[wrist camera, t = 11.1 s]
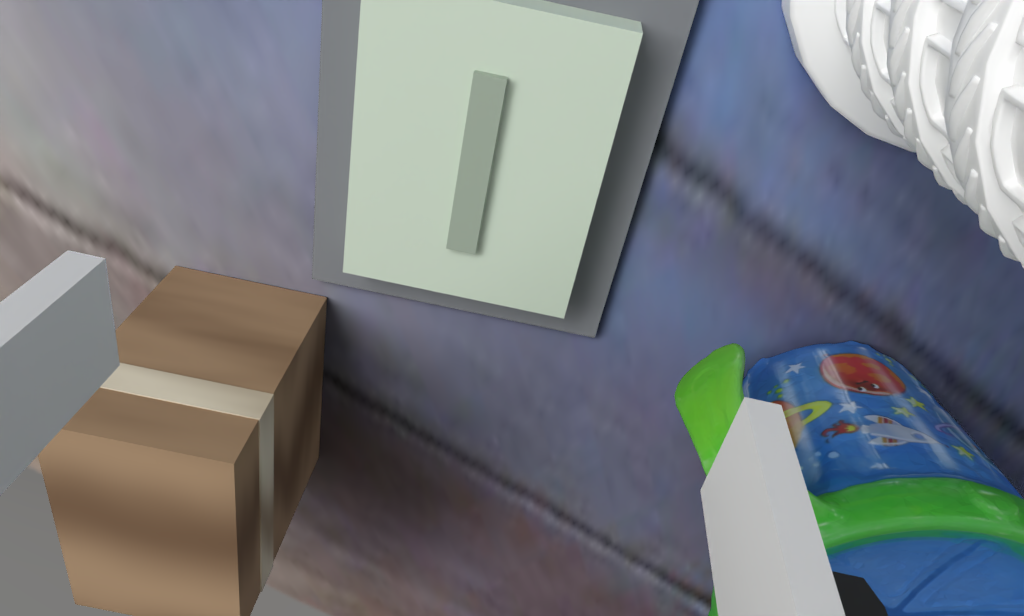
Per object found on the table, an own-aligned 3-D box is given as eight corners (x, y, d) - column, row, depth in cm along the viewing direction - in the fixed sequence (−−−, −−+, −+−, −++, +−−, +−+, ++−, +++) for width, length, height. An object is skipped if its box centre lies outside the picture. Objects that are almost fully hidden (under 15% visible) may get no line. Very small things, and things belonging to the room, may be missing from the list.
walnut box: (319, 457, 34) (242, 637, 27) (188, 431, 34) (74, 604, 27) (328, 296, 29) (235, 463, 22) (174, 264, 29) (27, 420, 22)
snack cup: (1032, 466, 30) (1198, 716, 22) (798, 560, 35) (861, 798, 27) (841, 194, 25) (966, 391, 16) (592, 349, 29) (589, 565, 21)
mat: (594, 331, 29) (594, 337, 29) (315, 273, 29) (312, 278, 28) (704, -23, 22) (705, -20, 21) (330, -105, 21) (326, -104, 21)
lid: (565, 297, 28) (563, 323, 26) (353, 252, 27) (340, 276, 26) (640, 21, 22) (643, 36, 21) (375, -37, 22) (359, -27, 20)
